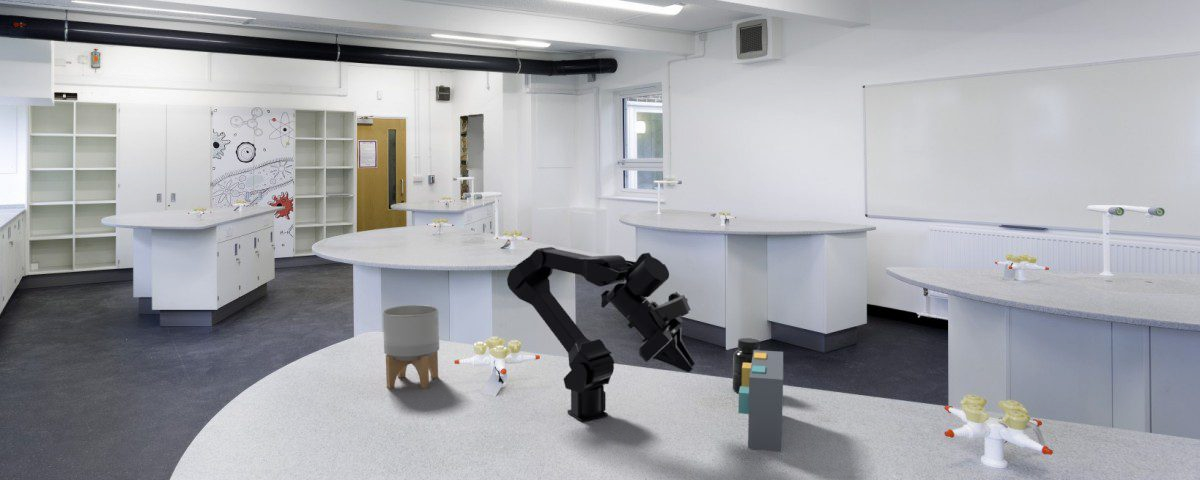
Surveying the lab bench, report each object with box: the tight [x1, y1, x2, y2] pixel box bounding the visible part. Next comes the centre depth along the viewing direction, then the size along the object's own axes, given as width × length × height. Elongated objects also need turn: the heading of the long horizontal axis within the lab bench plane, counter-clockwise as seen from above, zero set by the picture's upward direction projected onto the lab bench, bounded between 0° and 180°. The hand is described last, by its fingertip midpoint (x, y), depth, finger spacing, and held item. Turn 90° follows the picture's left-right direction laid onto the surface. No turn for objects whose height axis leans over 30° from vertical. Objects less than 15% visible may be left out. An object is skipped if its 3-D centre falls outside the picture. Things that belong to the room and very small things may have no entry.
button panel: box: [747, 349, 784, 452], centre depth 139 cm, size 6×20×14 cm, turn 166°
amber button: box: [742, 363, 752, 387], centre depth 144 cm, size 4×4×4 cm
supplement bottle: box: [732, 337, 760, 394], centre depth 164 cm, size 7×7×12 cm
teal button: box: [738, 386, 749, 415], centre depth 135 cm, size 4×4×4 cm
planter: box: [382, 304, 440, 389], centre depth 171 cm, size 13×13×18 cm
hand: (692, 368), depth 137 cm, fingers open, 3 cm apart
